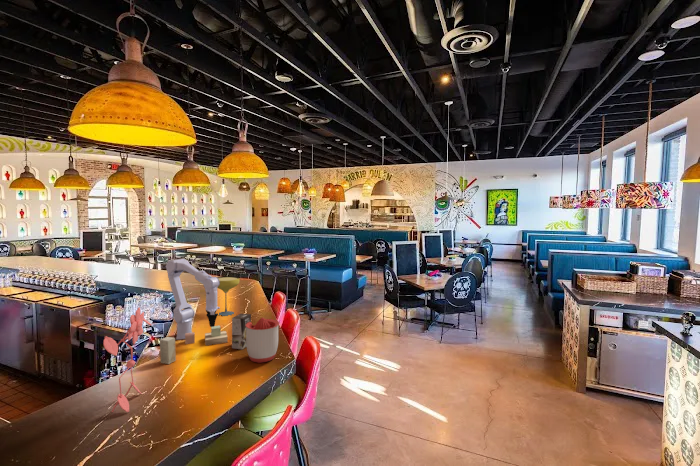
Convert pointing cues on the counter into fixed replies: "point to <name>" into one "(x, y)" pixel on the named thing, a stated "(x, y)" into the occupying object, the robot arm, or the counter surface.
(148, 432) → the counter surface
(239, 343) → the coffee box
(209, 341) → the maple board
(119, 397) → the pink thin branching piece
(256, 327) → the citrus juicer
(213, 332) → the sage cube
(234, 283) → the cocktail glass
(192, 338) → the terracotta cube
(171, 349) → the box
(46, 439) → the counter surface
